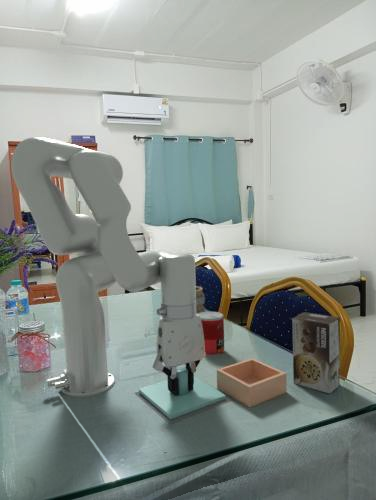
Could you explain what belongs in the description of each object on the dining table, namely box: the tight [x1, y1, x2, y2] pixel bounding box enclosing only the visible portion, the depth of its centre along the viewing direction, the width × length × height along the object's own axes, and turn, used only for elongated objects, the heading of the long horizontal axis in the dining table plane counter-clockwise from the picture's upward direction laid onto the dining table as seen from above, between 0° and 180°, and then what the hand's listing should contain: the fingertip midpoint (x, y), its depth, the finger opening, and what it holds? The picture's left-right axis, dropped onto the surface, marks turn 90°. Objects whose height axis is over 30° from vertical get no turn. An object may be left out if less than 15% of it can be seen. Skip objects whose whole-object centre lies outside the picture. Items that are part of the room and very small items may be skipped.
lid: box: [138, 366, 227, 419], centre depth 86 cm, size 14×14×6 cm
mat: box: [134, 375, 234, 425], centre depth 86 cm, size 16×16×1 cm
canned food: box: [199, 311, 225, 355], centre depth 114 cm, size 8×8×11 cm
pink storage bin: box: [216, 357, 287, 409], centre depth 88 cm, size 11×11×5 cm
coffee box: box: [292, 311, 341, 394], centre depth 91 cm, size 9×6×16 cm
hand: (181, 390), depth 86 cm, fingers closed on lid, 3 cm apart
